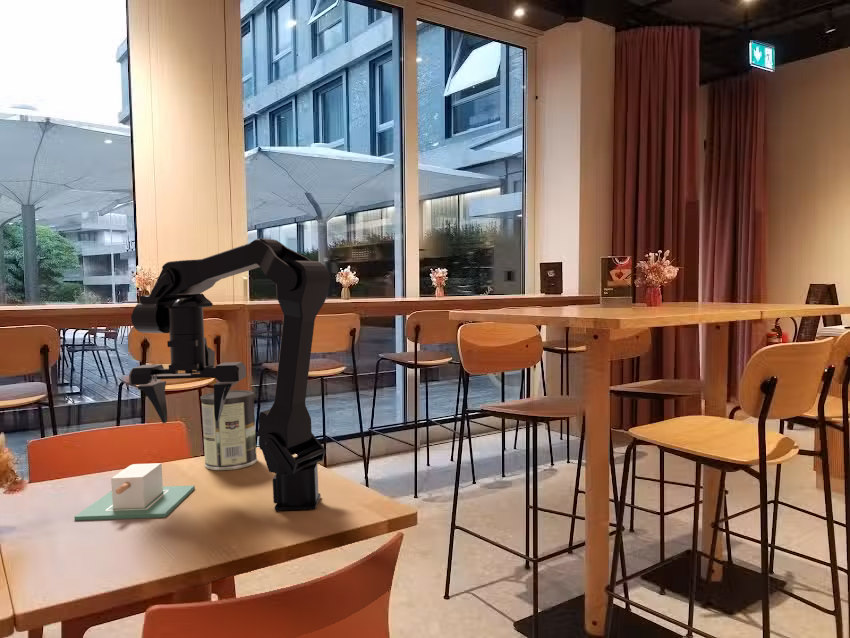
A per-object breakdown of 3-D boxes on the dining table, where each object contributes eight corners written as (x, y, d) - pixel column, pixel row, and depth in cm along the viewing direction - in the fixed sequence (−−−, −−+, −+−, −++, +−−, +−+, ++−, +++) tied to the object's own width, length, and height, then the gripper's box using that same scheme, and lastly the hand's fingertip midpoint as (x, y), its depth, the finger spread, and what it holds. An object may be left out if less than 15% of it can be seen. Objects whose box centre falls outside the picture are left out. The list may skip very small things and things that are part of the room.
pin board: (194, 488, 116) (194, 473, 116) (165, 517, 102) (164, 499, 102) (115, 491, 116) (114, 475, 116) (74, 520, 102) (73, 502, 102)
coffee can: (238, 454, 139) (235, 388, 139) (267, 461, 133) (264, 392, 132) (193, 465, 132) (190, 395, 131) (222, 473, 125) (219, 400, 124)
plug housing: (163, 491, 113) (161, 463, 113) (135, 515, 102) (133, 483, 101) (133, 492, 113) (132, 464, 113) (102, 516, 101) (100, 485, 101)
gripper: (251, 328, 123) (255, 411, 124) (151, 331, 122) (155, 414, 123) (235, 333, 112) (239, 424, 112) (125, 336, 111) (130, 427, 112)
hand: (191, 421), depth 115 cm, fingers open, 9 cm apart
